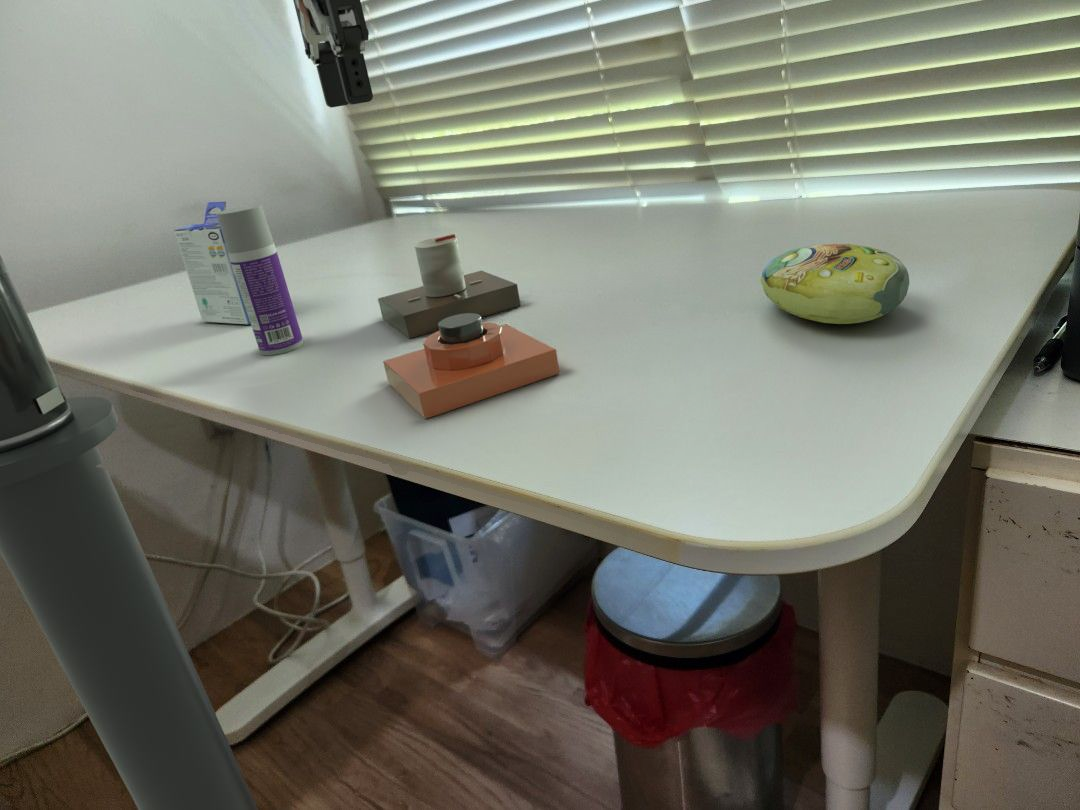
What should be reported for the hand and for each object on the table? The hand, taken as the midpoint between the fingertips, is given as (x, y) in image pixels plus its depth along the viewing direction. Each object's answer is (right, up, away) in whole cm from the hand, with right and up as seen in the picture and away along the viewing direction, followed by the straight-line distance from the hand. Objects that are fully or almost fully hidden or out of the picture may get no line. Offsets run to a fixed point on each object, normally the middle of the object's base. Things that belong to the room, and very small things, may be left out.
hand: (349, 104), depth 67 cm
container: (-11, -21, +15) cm, 28 cm away
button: (+11, -21, -4) cm, 24 cm away
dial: (+7, -14, +16) cm, 22 cm away
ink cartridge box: (-21, -16, +30) cm, 40 cm away
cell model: (+43, -19, -1) cm, 46 cm away
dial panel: (+7, -16, +17) cm, 25 cm away
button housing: (+11, -25, -3) cm, 27 cm away
